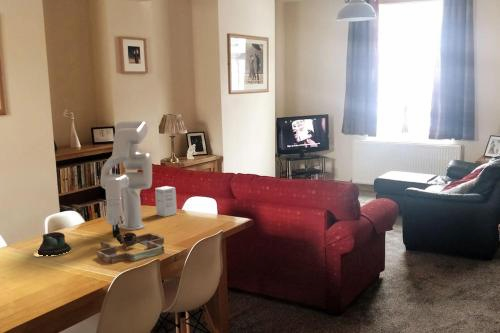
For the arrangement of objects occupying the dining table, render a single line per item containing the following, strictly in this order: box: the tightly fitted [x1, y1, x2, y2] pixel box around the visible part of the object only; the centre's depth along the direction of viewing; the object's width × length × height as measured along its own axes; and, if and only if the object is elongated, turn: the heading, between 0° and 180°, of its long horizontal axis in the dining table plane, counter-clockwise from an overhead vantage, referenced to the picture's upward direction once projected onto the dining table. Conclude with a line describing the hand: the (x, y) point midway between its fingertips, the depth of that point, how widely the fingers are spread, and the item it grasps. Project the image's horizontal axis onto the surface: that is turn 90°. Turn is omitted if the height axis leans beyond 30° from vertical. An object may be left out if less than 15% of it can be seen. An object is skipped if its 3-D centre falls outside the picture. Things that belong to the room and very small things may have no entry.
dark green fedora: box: [37, 231, 72, 256], centre depth 253 cm, size 20×20×9 cm
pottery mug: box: [115, 231, 139, 250], centre depth 259 cm, size 12×10×8 cm
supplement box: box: [154, 185, 178, 218], centre depth 321 cm, size 10×9×17 cm
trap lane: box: [96, 232, 165, 264], centre depth 253 cm, size 30×35×3 cm
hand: (116, 236), depth 263 cm, fingers closed
